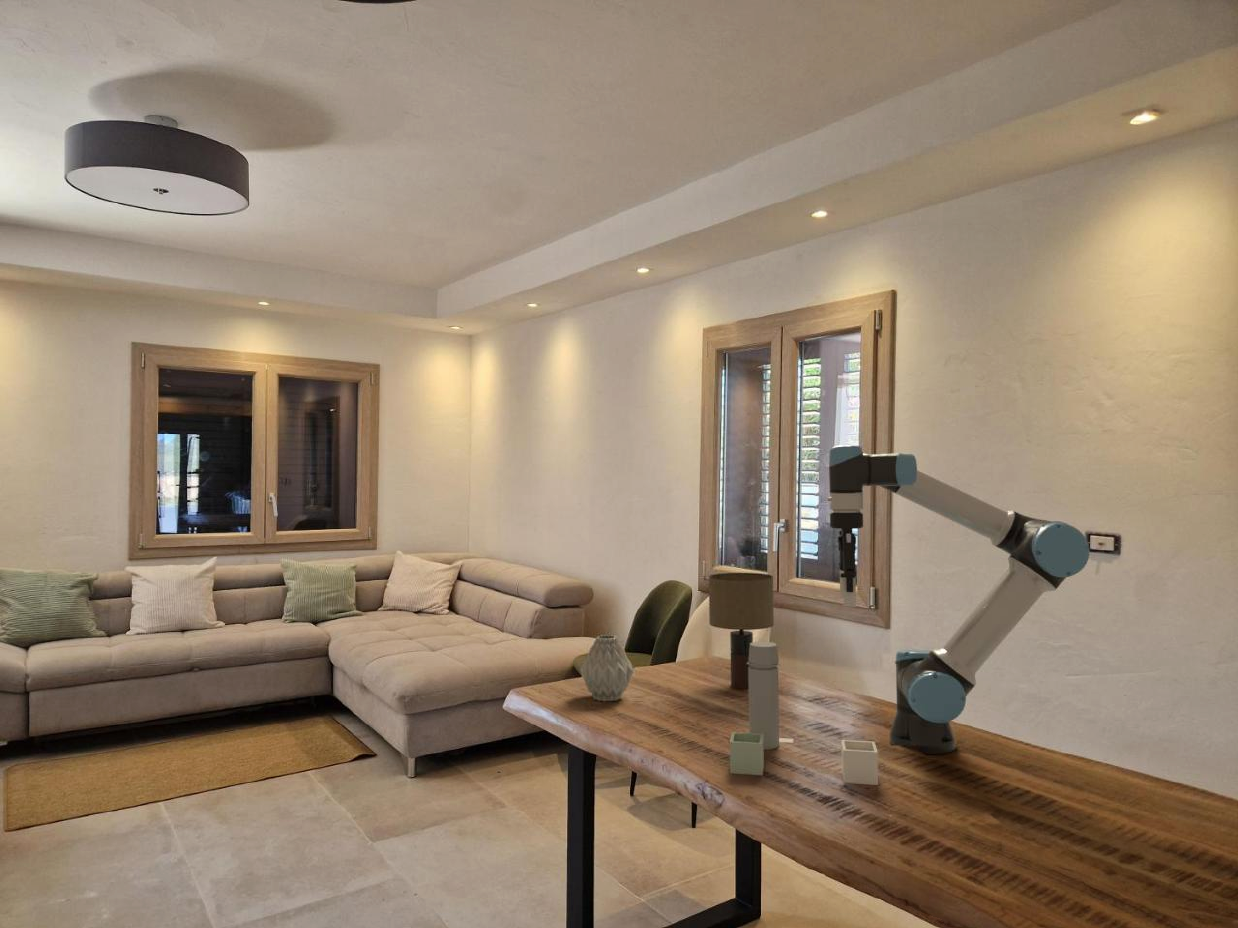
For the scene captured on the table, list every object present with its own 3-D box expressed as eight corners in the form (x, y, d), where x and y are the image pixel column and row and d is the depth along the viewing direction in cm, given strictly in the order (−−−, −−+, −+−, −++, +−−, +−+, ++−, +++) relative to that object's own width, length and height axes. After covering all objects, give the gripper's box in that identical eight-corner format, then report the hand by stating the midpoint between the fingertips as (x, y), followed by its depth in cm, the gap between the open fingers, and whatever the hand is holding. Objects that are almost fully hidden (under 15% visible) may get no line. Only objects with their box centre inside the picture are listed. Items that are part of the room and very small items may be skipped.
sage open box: (763, 769, 182) (763, 733, 182) (762, 780, 175) (762, 743, 175) (732, 767, 183) (732, 732, 183) (730, 778, 176) (729, 741, 177)
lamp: (739, 675, 269) (738, 571, 269) (787, 687, 253) (786, 576, 254) (697, 685, 256) (695, 576, 257) (744, 698, 240) (743, 581, 241)
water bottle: (780, 753, 191) (779, 647, 191) (747, 751, 192) (745, 646, 193) (780, 740, 200) (779, 640, 200) (748, 739, 201) (747, 639, 202)
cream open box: (875, 778, 176) (874, 741, 176) (878, 790, 169) (877, 752, 169) (841, 776, 177) (841, 739, 177) (843, 788, 170) (843, 750, 170)
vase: (574, 693, 248) (574, 633, 248) (624, 689, 253) (624, 630, 253) (588, 707, 232) (587, 643, 233) (641, 702, 237) (641, 639, 237)
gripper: (827, 509, 202) (829, 593, 201) (832, 513, 178) (833, 609, 177) (858, 509, 200) (860, 594, 200) (867, 513, 176) (869, 610, 176)
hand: (847, 601), depth 189 cm, fingers open, 13 cm apart
